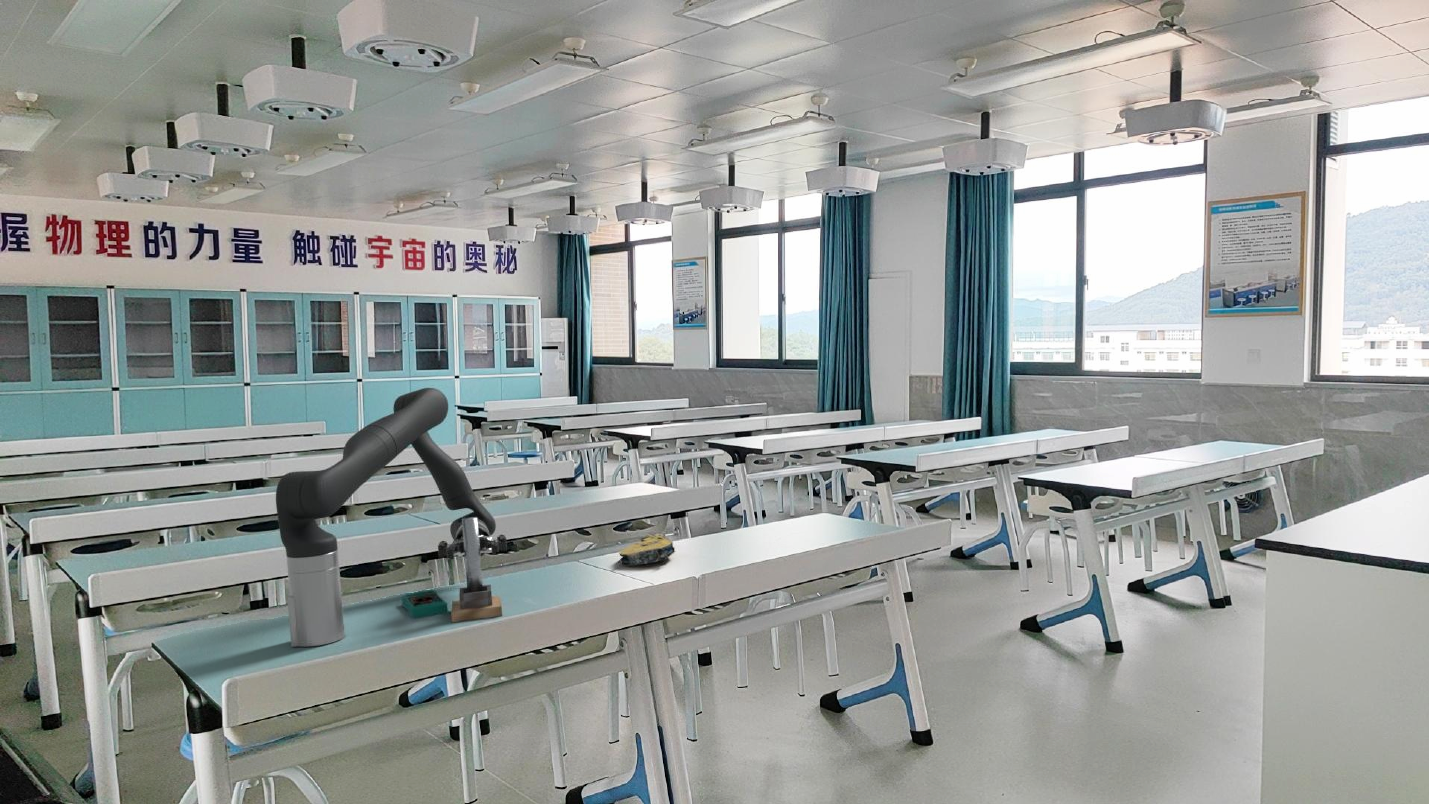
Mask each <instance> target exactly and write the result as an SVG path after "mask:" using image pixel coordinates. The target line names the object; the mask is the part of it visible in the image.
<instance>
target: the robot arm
mask: <svg viewBox="0 0 1429 804" xmlns="http://www.w3.org/2000/svg"><path fill="white" fill-rule="evenodd" d="M392 408H393V409H392V410H393V413H391V414H388V415H386V416H383V417H381V418H379V419H377V420H375V421H373V422H371V423H368V424H367V425H365V426H364V427H363V428H361V429H359V431H357V432H356V433H354V434H353V435H352V436H351V437H349V438H348V440H347V441H346V443H345V444H344V447H343V451H342V458H341V460H339V461H338V462H336V463H334V464H333V465H332V466H330V467H327V468H326V469H322V470H306V471H305V470H303V471H302V470H301V471H299V470H298V471H291V472H287V473H285V474H284V475H283V476H282V477H281V478H280V479H279V481H278V484H277V486H276V491H275V505H276V507H275V509H276V514H277V520H278V521H277V522H278V527H279V528H278V529H279V534H280V541H281V542H282V545H283V546H284V547H283V548H284V549H285V555H286V565H287V566H286V567H287V578H288V586H289V587H288V588H289V596H287V609H288V619H289V620H288V621H289V632H290V643H291V645H290V647H291V648H293V647H295V648H296V647H303V648H304V647H315V646H322V645H327V644H331V643H332V644H333V643H335V642H337V641H340V640H342V639H344V637H345V634H346V633H345V624H344V610H343V598H342V587H341V574H340V573H341V571H340V561H339V551H338V549H339V547H338V540H337V539H338V538H337V537H336V536H335V535H334V534H332V533H331V532H328V531H326V530H324V529H323V528H321V526H319V524H318V523H317V521H316V519H323V518H329V516H332V515H334V514H335V513H336V512H337V511H338V510H339V509H340V508H341V507H342V506H344V505H345V503H346V502H347V501H348V500H349V499H350V497H352V495H353V494H355V492H356V491H357V490H358V489H359V488H360V487H361V486H362V485H364V484H365V483H366V482H367V481H368V480H370V479H371V478H372V477H373V476H375V474H377V473H378V472H379V471H381V470H382V469H383V468H386V466H387V465H388V464H390V463H391V462H392V461H393V460H394V459H396V457H398V456H399V455H400V454H401V453H402V452H403V451H405V450H406V449H407V448H408V447H409V446H412V447H413V449H414V450H415V452H416V453H417V456H418V457H419V458H420V460H421V461H422V462H423V465H424V466H425V467H426V468H427V469H428V472H429V474H430V475H431V477H432V478H433V480H434V482H435V486H436V487H437V489H438V490H439V493H440V495H441V497H442V500H443V501H444V504H445V505H446V508H447V509H448V510H450V511H458V510H463V509H468V510H471V511H472V512H470V513H468V514H465V515H462V516H461V517H458V518H456V519H455V520H453V521H452V522H451V524H450V528H449V529H450V530H449V531H450V535H451V538H452V539H453V541H452V543H448V541H446V540H442V541H440V542H438V545H437V549H438V550H437V553H438V558H445V556H446V558H449V559H450V560H454V559H455V557H463V558H465V553H464V540H463V527H462V519H464V518H469V517H477V518H478V528H479V542H480V555H481V557H483V556H485V555H486V554H490V553H491V555H496V553H499V552H500V551H499V550H501V551H504V552H505V551H507V550H508V545H507V537H506V535H505V534H500V535H499V534H498V536H496V538H493V536H492V535H493V534H495V531H496V529H497V523H496V520H495V518H494V516H493V515H492V514H491V512H489V510H487V508H486V507H485V506H484V505H483V503H481V501H480V500H479V499H478V497H477V496H476V494H475V492H474V491H473V488H472V485H471V484H470V482H469V479H468V478H467V475H466V472H465V471H464V470H463V468H462V467H461V466H460V464H459V463H458V462H457V461H456V460H454V459H453V457H451V456H450V455H449V454H447V453H446V452H445V451H444V450H442V449H441V447H439V445H437V443H436V442H435V441H434V440H433V438H432V437H431V435H430V434H429V431H430V430H432V429H434V428H436V427H437V426H439V425H441V424H442V423H443V422H444V421H445V420H446V418H447V416H448V414H449V413H448V412H449V401H448V399H447V397H446V395H445V393H443V391H441V390H440V389H437V388H434V387H424V388H421V389H416V390H415V391H410V392H408V393H405V394H403V395H400V396H398V397H397V398H396V399H395V400H394V402H393V407H392Z"/></svg>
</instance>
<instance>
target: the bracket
mask: <svg viewBox="0 0 1429 804" xmlns="http://www.w3.org/2000/svg"><path fill="white" fill-rule="evenodd" d="M458 592H459V600H452V601H451V608H450V609H451V612H450V613H451V614H450V615H451V622H452V623H455V622H456V623H457V622H464V621H472V620H481V619H487V618H495V617H503V610H502V609H503V607H502V600H501V599H502V598H501V595H492V594H493V593H492V585H491V584H485V585H484V584H483V591H480V592H472V593H467V586H466V587H460V588H459V591H458Z"/></svg>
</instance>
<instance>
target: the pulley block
mask: <svg viewBox="0 0 1429 804" xmlns="http://www.w3.org/2000/svg"><path fill="white" fill-rule="evenodd" d="M673 544H674V541H673V540H672V539H671V538H669V537H668V536H666V535H665V534H662V533H657V532H647V533H646V536H645V538H643V537H641V539H640V541H637V542H635V543H634V544H631V545H629V546H627V547H625V548H623V549H622V550H621V551H619V552H618V553H619V554H618V555H619V556H620V557H621V558H620V559H619V560H618V561H617V562H616V563H615V564H614V566H617V565H618V564H619V563H620V562H622V565H621V566H622V567H633V566H634V567H635V566H639V565H648V564H650V563H655V562H658V561H659V562H660V561H662V560H667V559H668V560H669V559H670V558H669V557H671V556H672V555H674V553H676V552H677V550H676V551H675V547H674V545H673Z"/></svg>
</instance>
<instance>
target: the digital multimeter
mask: <svg viewBox="0 0 1429 804" xmlns="http://www.w3.org/2000/svg"><path fill="white" fill-rule="evenodd" d="M401 601H402V606H403V605H404V606H405V607H404V606H403V607H404V608H405V609H406V610H407V611H408V613H410V615H411V617H412V618H413V619H414V618H418V619H419V618H424V617H430V616H435V615H440V614H445V613H448V603H447V602H446V601H445V600H443V599H442V597H440V595H438V593H437V591H435V590H434V589H430V590H422V591H415V592H410V593H406V594H403V596H402V597H401Z"/></svg>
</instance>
